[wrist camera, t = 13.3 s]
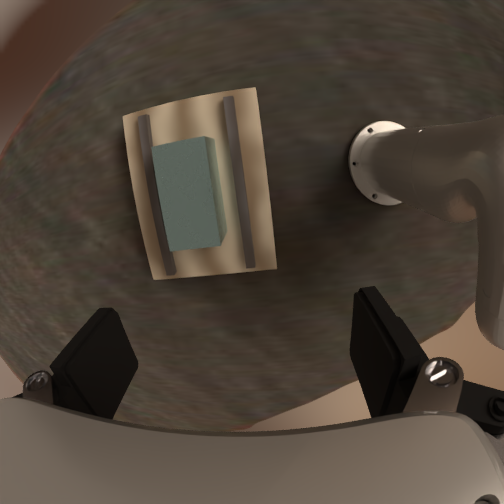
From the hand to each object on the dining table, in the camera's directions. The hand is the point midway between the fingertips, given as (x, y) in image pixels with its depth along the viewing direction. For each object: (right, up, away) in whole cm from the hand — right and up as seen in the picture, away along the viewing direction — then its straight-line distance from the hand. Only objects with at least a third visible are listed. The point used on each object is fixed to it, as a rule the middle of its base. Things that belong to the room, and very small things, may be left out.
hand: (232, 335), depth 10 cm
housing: (-6, +11, +24) cm, 27 cm away
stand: (-6, +12, +28) cm, 31 cm away
